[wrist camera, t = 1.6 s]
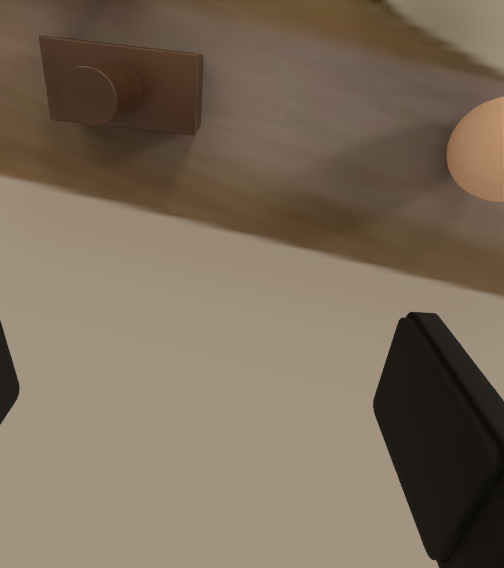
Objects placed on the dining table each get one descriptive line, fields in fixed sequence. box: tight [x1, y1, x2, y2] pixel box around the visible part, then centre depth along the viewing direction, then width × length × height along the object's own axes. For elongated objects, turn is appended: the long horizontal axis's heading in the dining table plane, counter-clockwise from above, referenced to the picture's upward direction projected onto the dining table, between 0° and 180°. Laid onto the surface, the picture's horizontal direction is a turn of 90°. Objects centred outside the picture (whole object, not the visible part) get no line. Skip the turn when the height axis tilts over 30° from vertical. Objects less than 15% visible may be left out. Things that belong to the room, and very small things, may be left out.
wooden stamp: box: [39, 36, 203, 135], centre depth 20 cm, size 4×8×8 cm, turn 84°
